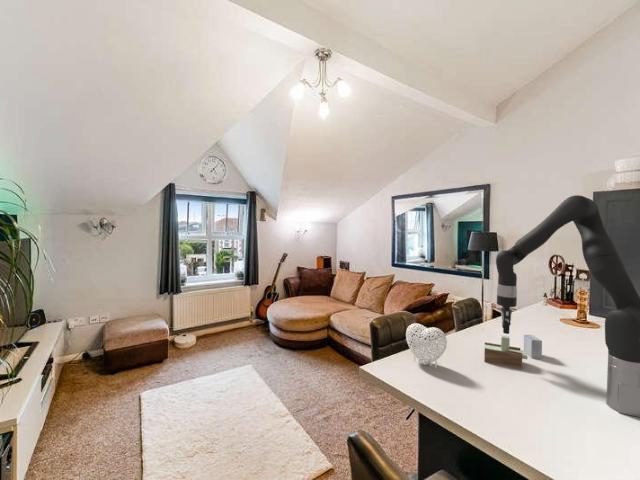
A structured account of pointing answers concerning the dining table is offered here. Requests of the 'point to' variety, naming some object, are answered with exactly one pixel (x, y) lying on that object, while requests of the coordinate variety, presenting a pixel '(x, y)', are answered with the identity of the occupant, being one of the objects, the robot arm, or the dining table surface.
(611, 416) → the dining table surface
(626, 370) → the robot arm
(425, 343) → the decorative heart
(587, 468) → the dining table surface
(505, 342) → the lid
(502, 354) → the box
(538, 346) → the medicine box
